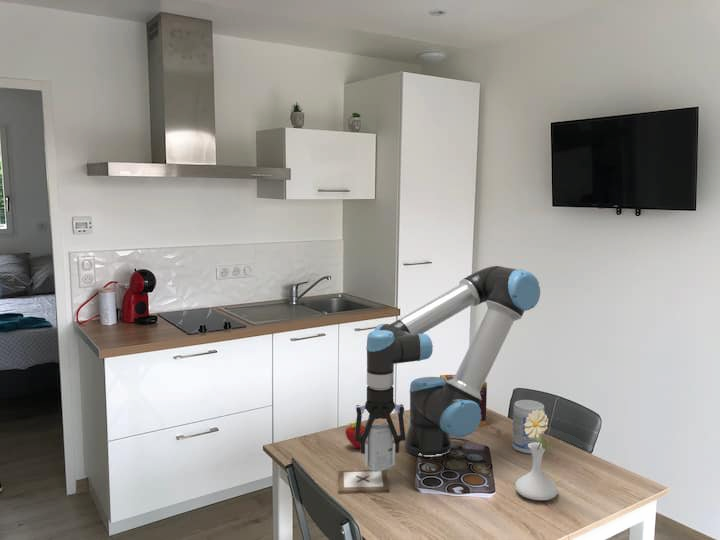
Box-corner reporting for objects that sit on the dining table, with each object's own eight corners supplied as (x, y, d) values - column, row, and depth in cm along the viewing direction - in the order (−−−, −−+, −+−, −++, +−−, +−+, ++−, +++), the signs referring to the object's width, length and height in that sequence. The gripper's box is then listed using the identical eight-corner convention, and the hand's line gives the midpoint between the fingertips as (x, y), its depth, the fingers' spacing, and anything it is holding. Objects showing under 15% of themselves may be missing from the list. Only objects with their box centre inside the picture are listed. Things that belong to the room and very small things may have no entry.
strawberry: (365, 453, 191) (365, 423, 190) (343, 450, 193) (342, 420, 192) (370, 446, 196) (370, 416, 195) (348, 443, 199) (348, 414, 197)
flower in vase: (510, 483, 170) (512, 399, 167) (551, 484, 170) (554, 399, 167) (521, 508, 158) (523, 416, 154) (565, 508, 157) (568, 416, 154)
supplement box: (486, 425, 213) (487, 382, 211) (443, 426, 213) (443, 383, 211) (480, 414, 223) (481, 373, 221) (439, 415, 223) (439, 374, 221)
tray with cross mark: (385, 472, 178) (385, 468, 178) (389, 492, 166) (389, 488, 166) (338, 473, 178) (338, 469, 178) (338, 493, 166) (338, 489, 166)
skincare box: (375, 473, 168) (375, 431, 166) (366, 467, 172) (366, 426, 170) (393, 467, 171) (393, 426, 170) (383, 461, 175) (384, 421, 173)
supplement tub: (524, 456, 188) (526, 411, 186) (506, 445, 196) (507, 401, 194) (549, 451, 191) (551, 407, 189) (530, 440, 200) (531, 397, 198)
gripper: (413, 381, 173) (412, 457, 175) (344, 382, 172) (344, 458, 175) (417, 389, 165) (416, 469, 168) (344, 390, 164) (344, 470, 167)
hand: (379, 463), depth 171 cm, fingers closed on skincare box, 7 cm apart
